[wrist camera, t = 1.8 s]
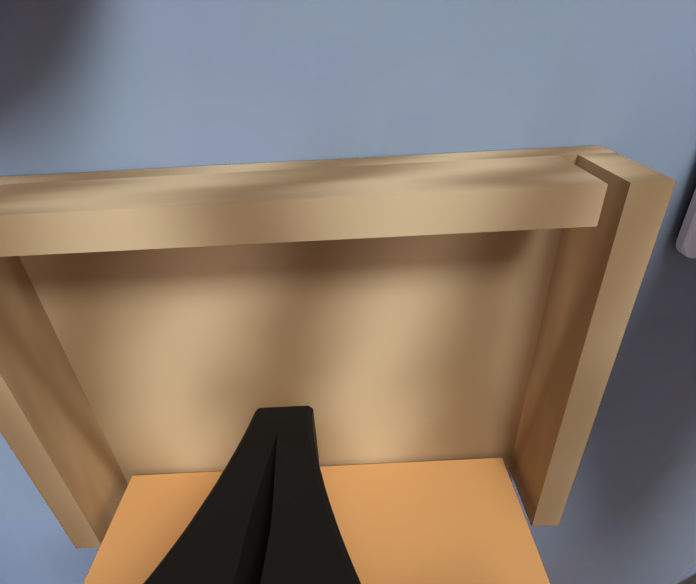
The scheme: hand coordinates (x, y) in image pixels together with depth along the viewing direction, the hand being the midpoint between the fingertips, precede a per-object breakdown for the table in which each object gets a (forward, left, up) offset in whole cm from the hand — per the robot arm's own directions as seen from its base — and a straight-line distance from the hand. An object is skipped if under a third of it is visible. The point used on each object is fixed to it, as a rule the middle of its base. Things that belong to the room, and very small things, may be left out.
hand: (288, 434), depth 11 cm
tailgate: (0, +7, -4) cm, 8 cm away
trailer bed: (0, +1, -5) cm, 5 cm away
